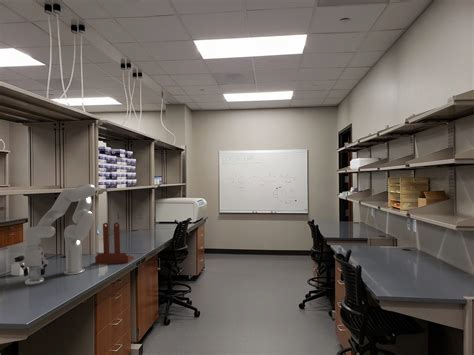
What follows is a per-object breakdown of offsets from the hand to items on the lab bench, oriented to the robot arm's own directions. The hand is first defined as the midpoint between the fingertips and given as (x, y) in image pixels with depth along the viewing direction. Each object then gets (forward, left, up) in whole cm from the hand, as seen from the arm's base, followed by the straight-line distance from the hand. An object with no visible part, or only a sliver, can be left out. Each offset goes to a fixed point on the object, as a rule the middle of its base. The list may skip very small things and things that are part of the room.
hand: (34, 275), depth 204 cm
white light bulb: (0, 0, -3) cm, 3 cm away
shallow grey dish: (0, 0, -4) cm, 4 cm away
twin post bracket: (-45, +35, -5) cm, 57 cm away
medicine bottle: (-21, -20, -4) cm, 29 cm away
